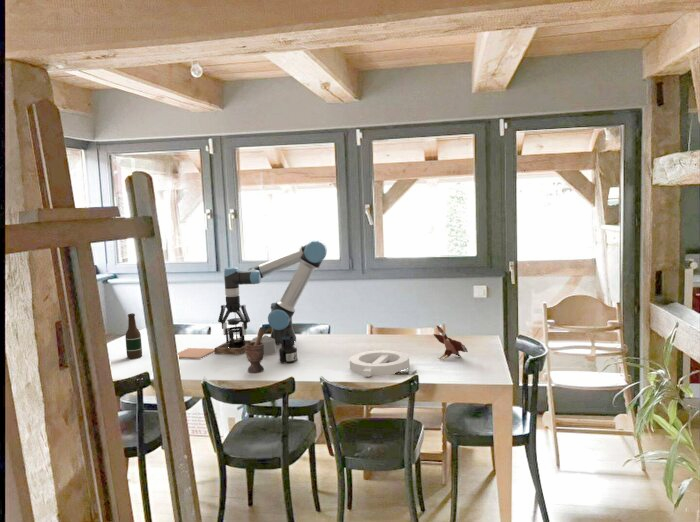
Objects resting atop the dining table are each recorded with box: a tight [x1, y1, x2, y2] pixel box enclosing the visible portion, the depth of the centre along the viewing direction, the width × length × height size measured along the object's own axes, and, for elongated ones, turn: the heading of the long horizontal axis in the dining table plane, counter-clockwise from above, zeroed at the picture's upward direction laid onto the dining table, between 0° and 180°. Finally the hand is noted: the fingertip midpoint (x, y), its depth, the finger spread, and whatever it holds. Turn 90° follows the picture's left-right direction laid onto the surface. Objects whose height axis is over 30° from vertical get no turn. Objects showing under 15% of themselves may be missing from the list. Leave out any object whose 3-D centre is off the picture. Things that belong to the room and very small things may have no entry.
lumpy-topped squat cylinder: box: [250, 334, 277, 356], centre depth 304 cm, size 10×13×9 cm
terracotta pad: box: [177, 347, 215, 360], centre depth 308 cm, size 18×18×1 cm
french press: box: [225, 309, 246, 348], centre depth 313 cm, size 12×9×23 cm
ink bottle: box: [278, 336, 298, 364], centre depth 284 cm, size 10×9×12 cm
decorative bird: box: [433, 325, 468, 361], centre depth 275 cm, size 28×18×15 cm, turn 22°
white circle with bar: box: [349, 349, 410, 378], centre depth 267 cm, size 28×28×5 cm
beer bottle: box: [125, 313, 143, 360], centre depth 306 cm, size 8×8×24 cm
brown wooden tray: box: [214, 339, 252, 355], centre depth 314 cm, size 16×19×3 cm
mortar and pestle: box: [245, 326, 266, 374], centre depth 271 cm, size 12×9×20 cm
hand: (234, 334), depth 313 cm, fingers closed on french press, 11 cm apart
